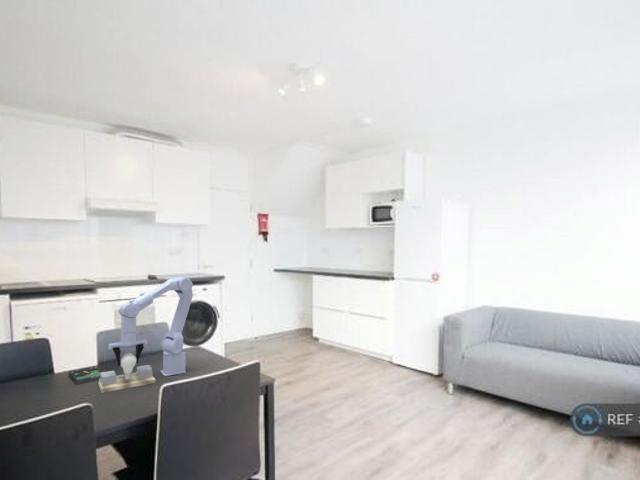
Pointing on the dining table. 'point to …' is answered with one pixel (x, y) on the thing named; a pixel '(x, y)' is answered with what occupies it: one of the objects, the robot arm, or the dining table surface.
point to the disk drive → (85, 375)
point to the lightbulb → (128, 364)
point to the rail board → (114, 382)
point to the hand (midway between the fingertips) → (127, 363)
